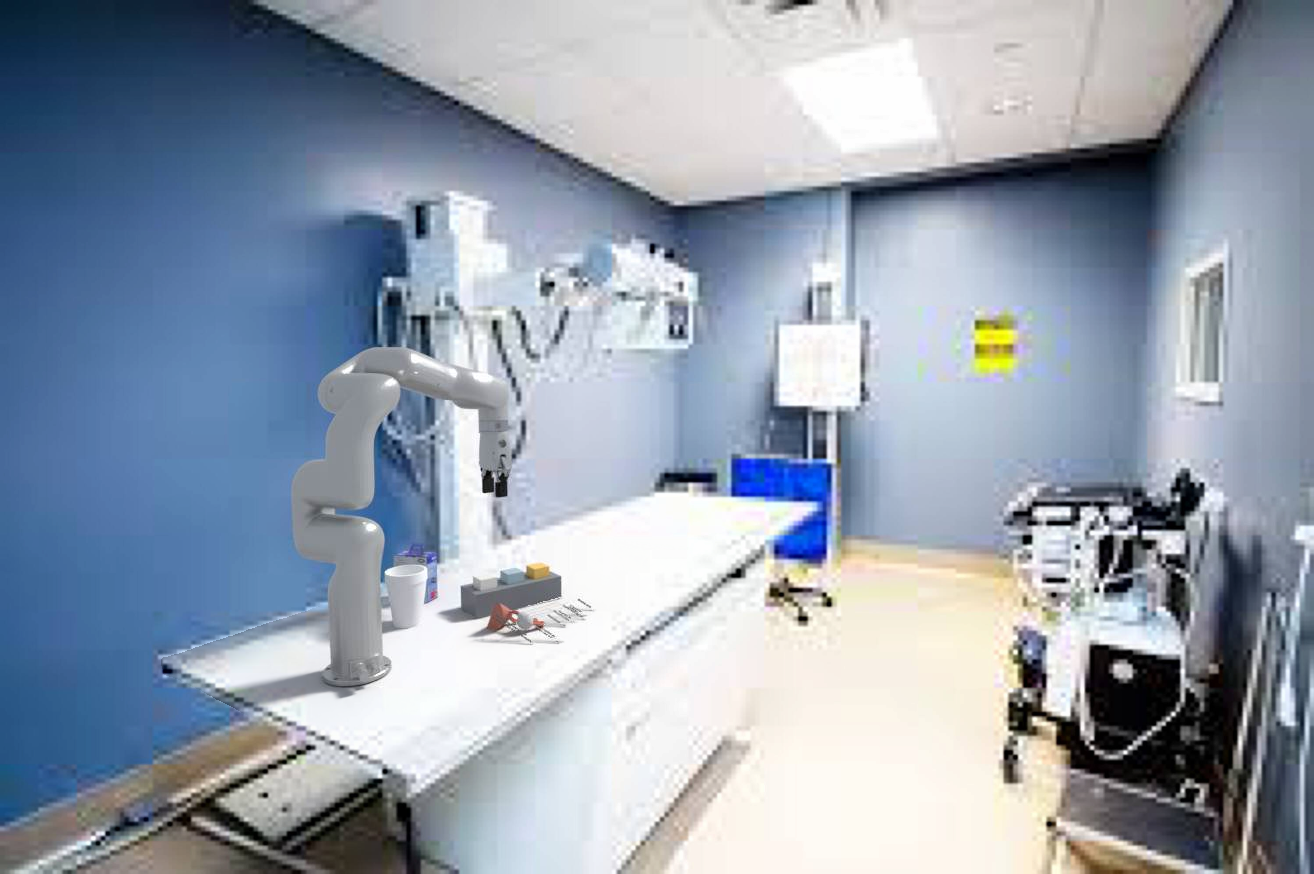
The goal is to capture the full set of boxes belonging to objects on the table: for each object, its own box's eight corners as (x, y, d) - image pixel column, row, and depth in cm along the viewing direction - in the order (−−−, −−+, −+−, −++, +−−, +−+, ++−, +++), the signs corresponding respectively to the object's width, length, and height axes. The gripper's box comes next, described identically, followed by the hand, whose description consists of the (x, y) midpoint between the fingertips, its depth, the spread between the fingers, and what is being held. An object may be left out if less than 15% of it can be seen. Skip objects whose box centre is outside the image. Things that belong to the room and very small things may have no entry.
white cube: (497, 592, 170) (497, 577, 169) (480, 596, 167) (480, 580, 167) (489, 588, 173) (489, 572, 173) (473, 591, 170) (472, 576, 170)
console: (561, 598, 179) (561, 576, 179) (476, 618, 164) (476, 595, 164) (544, 589, 186) (544, 568, 186) (461, 608, 171) (460, 585, 171)
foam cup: (384, 632, 155) (382, 577, 154) (388, 618, 164) (386, 566, 163) (427, 628, 158) (426, 574, 157) (429, 614, 167) (428, 563, 165)
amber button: (549, 580, 179) (549, 566, 179) (534, 584, 177) (534, 569, 176) (540, 576, 183) (540, 562, 182) (526, 580, 180) (526, 565, 179)
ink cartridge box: (439, 596, 180) (437, 543, 179) (428, 603, 175) (426, 548, 173) (405, 593, 182) (403, 541, 181) (393, 600, 177) (391, 546, 175)
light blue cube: (524, 586, 175) (523, 571, 174) (508, 590, 172) (508, 574, 171) (515, 582, 178) (515, 567, 178) (500, 585, 175) (500, 570, 175)
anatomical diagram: (486, 605, 153) (546, 571, 176) (475, 637, 155) (536, 599, 178) (559, 653, 147) (612, 611, 169) (546, 685, 149) (600, 639, 172)
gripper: (522, 428, 171) (523, 498, 173) (491, 424, 184) (493, 488, 186) (495, 430, 166) (496, 501, 168) (465, 425, 180) (467, 491, 181)
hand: (494, 494), depth 177 cm, fingers open, 6 cm apart
